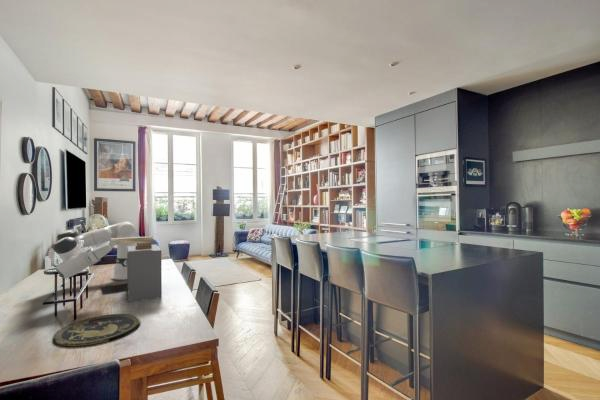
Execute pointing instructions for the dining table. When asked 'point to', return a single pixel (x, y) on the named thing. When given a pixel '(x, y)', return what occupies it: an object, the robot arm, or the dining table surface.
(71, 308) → the dining table surface
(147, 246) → the walnut offcuts
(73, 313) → the dining table surface
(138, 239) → the birch lath
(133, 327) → the decorative plate
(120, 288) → the tablet
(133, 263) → the grey upright box
